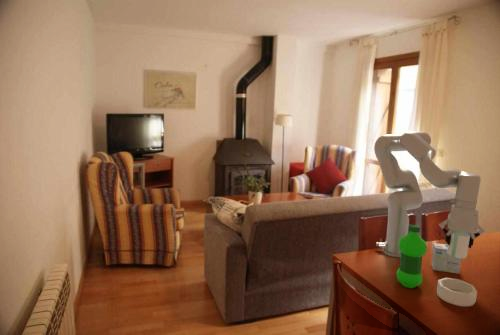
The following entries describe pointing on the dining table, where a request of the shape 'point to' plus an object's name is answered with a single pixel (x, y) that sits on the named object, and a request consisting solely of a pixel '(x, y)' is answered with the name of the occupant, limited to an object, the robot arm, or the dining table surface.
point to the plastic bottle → (411, 257)
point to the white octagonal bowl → (456, 292)
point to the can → (458, 244)
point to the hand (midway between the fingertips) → (458, 244)
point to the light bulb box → (444, 259)
